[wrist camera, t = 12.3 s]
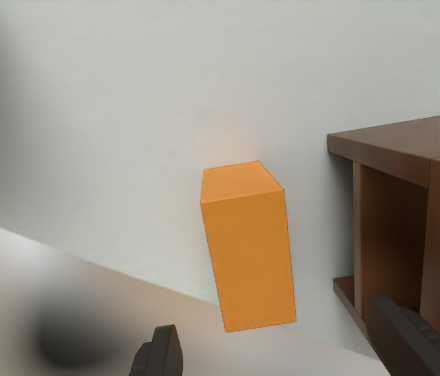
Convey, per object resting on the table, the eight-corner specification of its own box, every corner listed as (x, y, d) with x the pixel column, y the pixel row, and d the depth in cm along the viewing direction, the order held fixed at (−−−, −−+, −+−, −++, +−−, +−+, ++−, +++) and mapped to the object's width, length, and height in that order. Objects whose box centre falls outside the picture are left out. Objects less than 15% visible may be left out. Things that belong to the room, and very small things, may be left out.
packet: (203, 169, 22) (199, 202, 14) (258, 160, 22) (284, 188, 14) (220, 263, 25) (225, 333, 17) (270, 255, 25) (296, 322, 17)
